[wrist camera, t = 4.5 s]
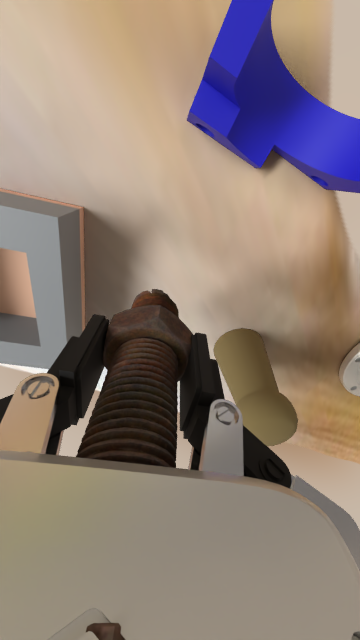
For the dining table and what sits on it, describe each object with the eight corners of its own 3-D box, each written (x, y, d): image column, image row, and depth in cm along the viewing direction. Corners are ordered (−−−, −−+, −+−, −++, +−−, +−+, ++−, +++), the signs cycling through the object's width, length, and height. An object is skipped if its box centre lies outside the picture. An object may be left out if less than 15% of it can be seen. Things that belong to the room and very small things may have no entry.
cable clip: (186, 120, 16) (193, 97, 11) (221, 34, 14) (250, -46, 9) (310, 207, 19) (359, 219, 14) (354, 148, 17) (430, 138, 12)
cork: (271, 351, 28) (320, 440, 19) (229, 373, 30) (254, 463, 20) (249, 319, 25) (294, 404, 16) (204, 345, 27) (220, 435, 18)
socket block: (83, 207, 18) (57, 217, 14) (85, 339, 26) (68, 371, 22) (-84, 169, 17) (-170, 168, 13) (-31, 322, 24) (-73, 354, 20)
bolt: (129, 342, 18) (-2, 770, 5) (103, 284, 15) (-328, 886, 2) (202, 328, 17) (270, 789, 4) (189, 264, 14) (260, 994, 2)
